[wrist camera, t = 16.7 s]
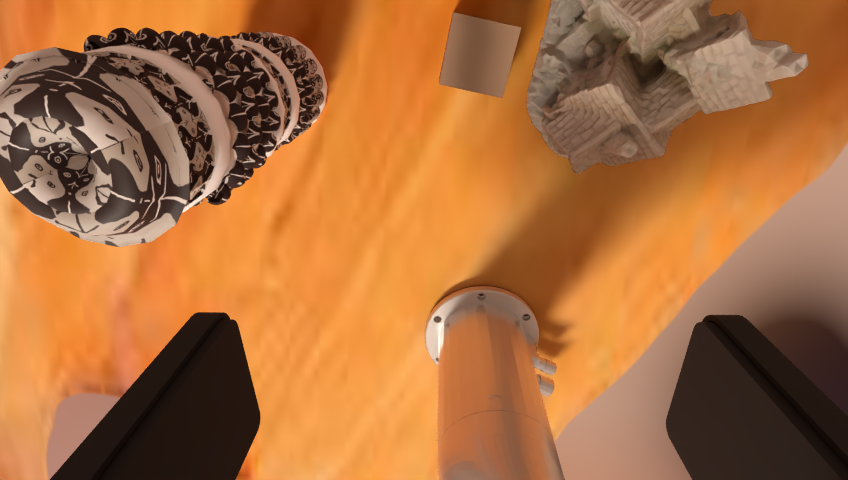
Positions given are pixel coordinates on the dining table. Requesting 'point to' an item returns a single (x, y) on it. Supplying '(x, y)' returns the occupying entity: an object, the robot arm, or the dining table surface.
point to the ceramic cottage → (643, 74)
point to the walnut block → (478, 55)
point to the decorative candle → (149, 125)
